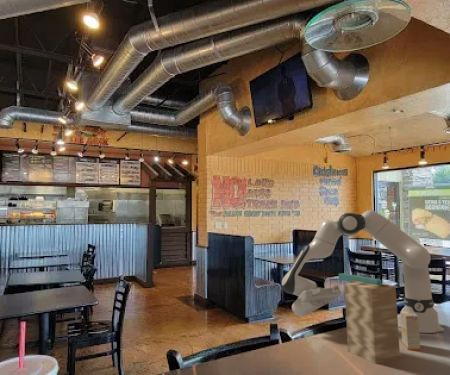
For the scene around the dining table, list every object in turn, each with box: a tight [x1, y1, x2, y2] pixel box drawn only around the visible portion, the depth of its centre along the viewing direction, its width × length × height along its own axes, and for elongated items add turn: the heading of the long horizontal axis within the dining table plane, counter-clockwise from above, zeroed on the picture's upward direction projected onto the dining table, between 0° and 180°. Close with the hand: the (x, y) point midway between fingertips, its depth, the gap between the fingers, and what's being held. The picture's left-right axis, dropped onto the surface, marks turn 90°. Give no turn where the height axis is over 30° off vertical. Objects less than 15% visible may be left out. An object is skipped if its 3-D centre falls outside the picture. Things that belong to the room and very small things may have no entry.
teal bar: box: [338, 272, 383, 287], centre depth 145 cm, size 21×2×2 cm, turn 23°
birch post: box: [344, 281, 401, 364], centre depth 139 cm, size 14×12×27 cm
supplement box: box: [400, 310, 421, 351], centre depth 145 cm, size 8×5×13 cm, turn 168°
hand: (329, 288), depth 162 cm, fingers open, 8 cm apart
